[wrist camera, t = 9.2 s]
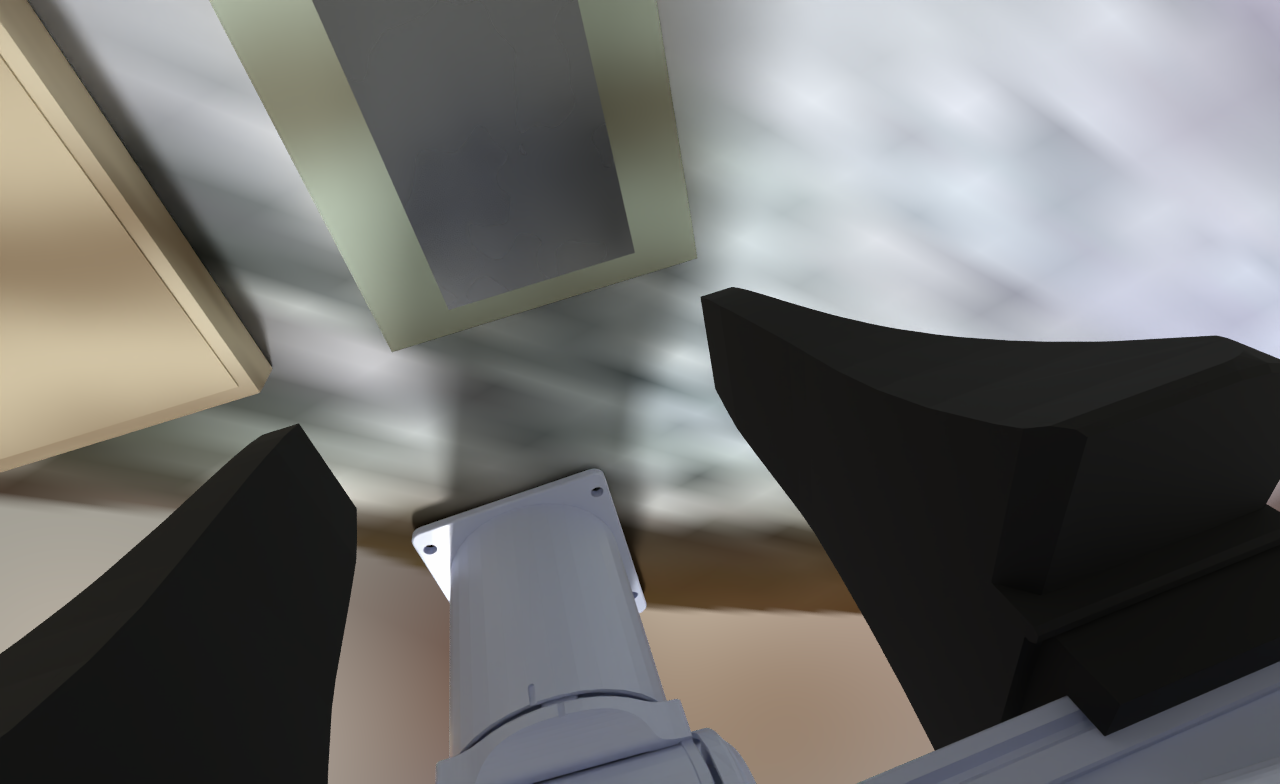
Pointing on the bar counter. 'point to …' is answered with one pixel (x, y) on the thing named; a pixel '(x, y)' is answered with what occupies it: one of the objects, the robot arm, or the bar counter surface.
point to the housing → (486, 135)
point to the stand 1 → (94, 274)
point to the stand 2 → (367, 200)
